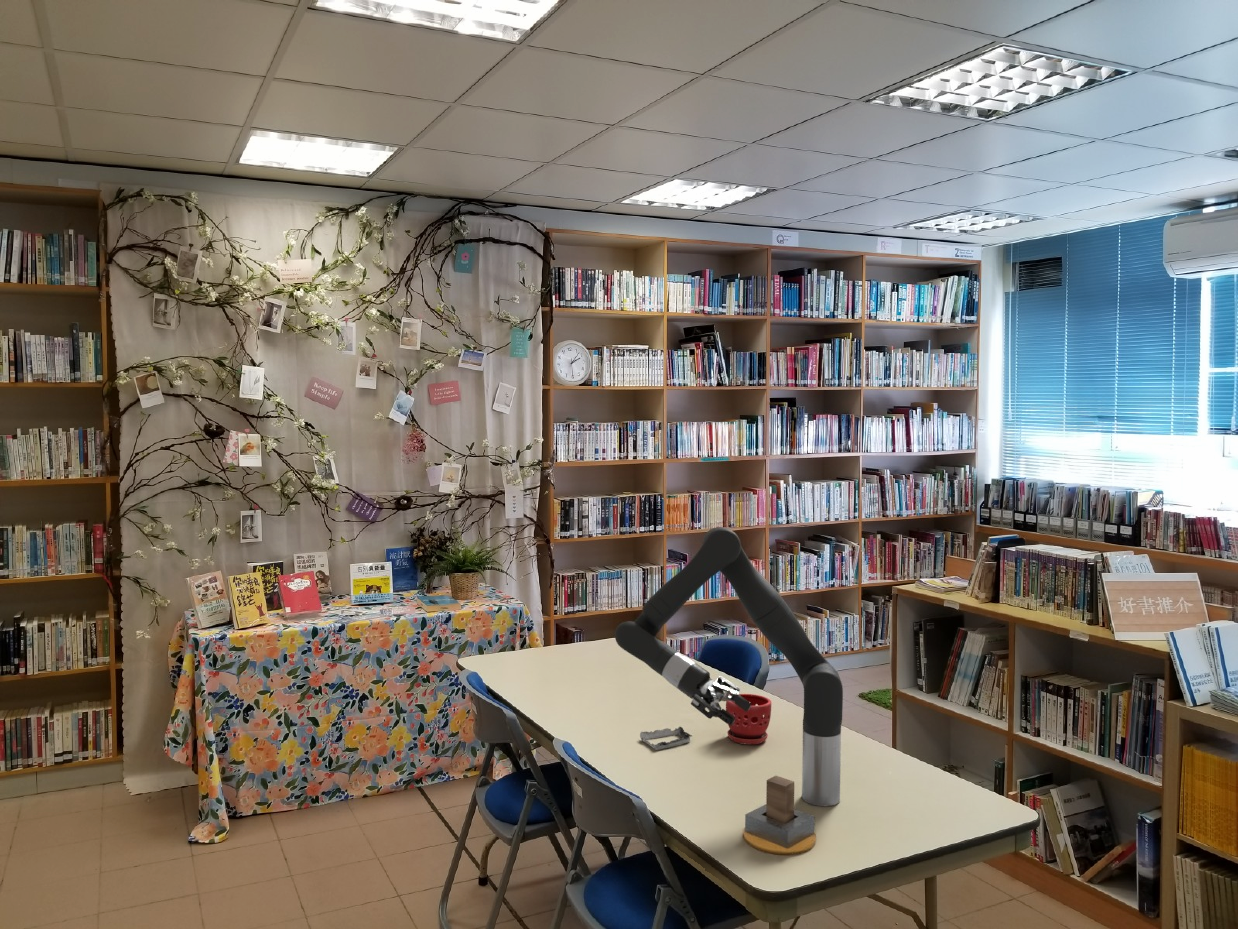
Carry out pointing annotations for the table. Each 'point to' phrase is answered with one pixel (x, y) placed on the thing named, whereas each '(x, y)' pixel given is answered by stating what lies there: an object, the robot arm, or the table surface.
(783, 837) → the grey socket block
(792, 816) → the brown wooden block
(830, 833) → the table surface
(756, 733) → the plant pot
